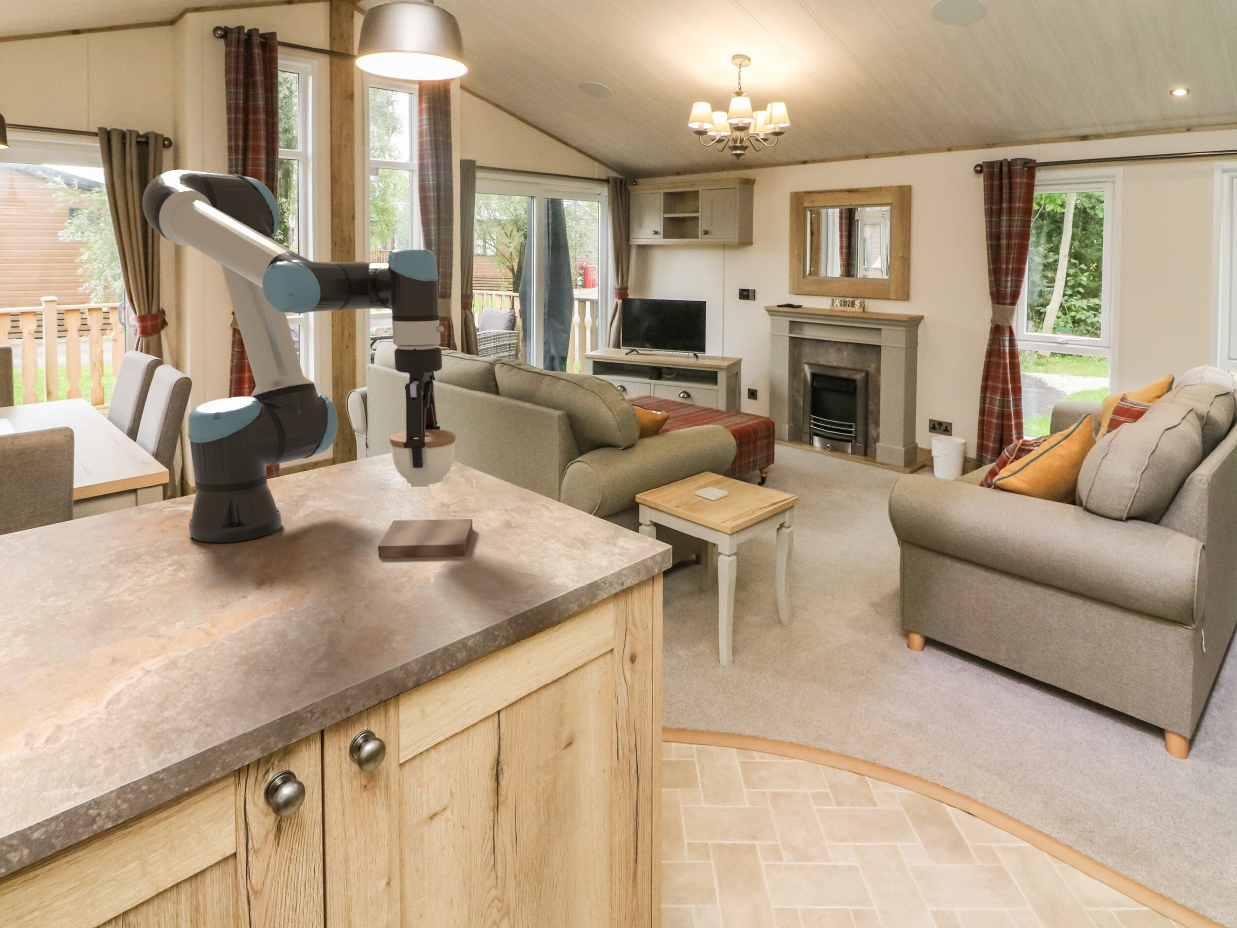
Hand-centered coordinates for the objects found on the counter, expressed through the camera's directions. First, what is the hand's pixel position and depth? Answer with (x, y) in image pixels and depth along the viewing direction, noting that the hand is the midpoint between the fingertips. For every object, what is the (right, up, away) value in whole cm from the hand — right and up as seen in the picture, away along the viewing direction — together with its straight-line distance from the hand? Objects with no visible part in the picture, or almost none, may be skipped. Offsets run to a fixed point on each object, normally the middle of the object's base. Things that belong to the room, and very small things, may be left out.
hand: (425, 477), depth 141 cm
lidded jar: (0, -1, 0) cm, 1 cm away
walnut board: (0, -11, +3) cm, 12 cm away
